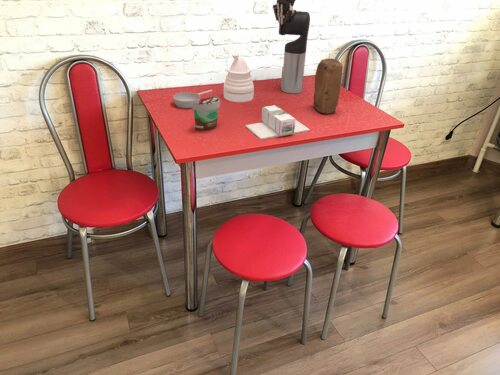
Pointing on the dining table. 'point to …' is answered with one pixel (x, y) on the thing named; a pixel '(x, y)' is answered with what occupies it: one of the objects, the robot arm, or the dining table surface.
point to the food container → (206, 113)
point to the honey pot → (238, 82)
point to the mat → (267, 132)
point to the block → (327, 85)
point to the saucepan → (187, 99)
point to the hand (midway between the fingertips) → (282, 34)
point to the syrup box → (278, 120)
